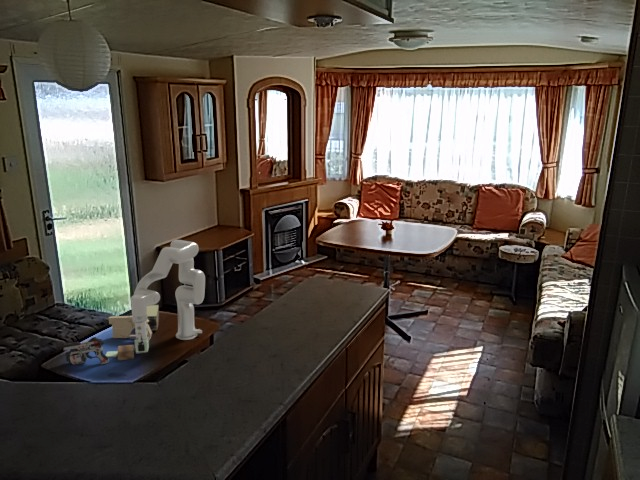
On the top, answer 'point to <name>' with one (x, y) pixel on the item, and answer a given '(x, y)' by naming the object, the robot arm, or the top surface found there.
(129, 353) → the walnut base
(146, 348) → the sage cube
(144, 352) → the grey cube
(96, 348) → the toy blaster
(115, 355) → the sage tile
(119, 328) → the gun
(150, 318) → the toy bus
